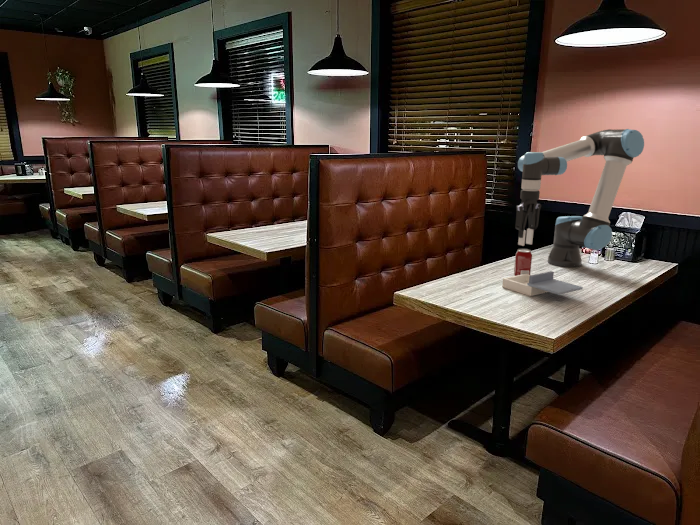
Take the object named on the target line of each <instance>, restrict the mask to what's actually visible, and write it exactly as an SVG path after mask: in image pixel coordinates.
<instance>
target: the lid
mask: <svg viewBox="0 0 700 525" xmlns="http://www.w3.org/2000/svg"><path fill="white" fill-rule="evenodd" d="M554 274H555V272H554V271H552V270H551V271H546V272H541V273H535V274H530V277H529V283H528V284H527V285H529V286H532V287H535V288H538V289H542V290H545V291H548V292H547V293H551V294H555V295H558V296H559V295H560V296H561V295H564V294H568V293H571V292H576V291H580V290H583V288H584V287H583V286H581V285H576V284H573V283H569V282H567V281H562V280H559V279H557V278H556V279H554Z"/></svg>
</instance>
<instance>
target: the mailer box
mask: <svg viewBox="0 0 700 525" xmlns="http://www.w3.org/2000/svg"><path fill="white" fill-rule="evenodd" d="M530 275H531V274H530ZM530 275H529V274H522V275H518V276H514V275H513V276H509V277H504V278H502V288H504V289H508V290H510V291H514V292H518V293H520V294H523V295H526V296H529V297H532V296H537V295H540V294H541V295H542V294H545V292H546V293H549V292H548V291H545V290H542V289H538V288H535V287H532V286H529V285H527V284H528V283H529V277H530Z"/></svg>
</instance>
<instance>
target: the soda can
mask: <svg viewBox="0 0 700 525" xmlns="http://www.w3.org/2000/svg"><path fill="white" fill-rule="evenodd" d="M514 257H515V258H514V268H513V276H518V275H522V274H529V275H531V268H532V260H533V254H532V250H531V249H528V248H518V249H517V251H516V253H515V256H514Z"/></svg>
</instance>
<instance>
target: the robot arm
mask: <svg viewBox="0 0 700 525" xmlns="http://www.w3.org/2000/svg"><path fill="white" fill-rule="evenodd" d="M644 147H645V139H644V136H643V134H642V132H640V131H639V130H637V129H629V128H626V129H623V128H622V129H617V128H616V129H612V128H611V129H610V128H609V129H604V130H599V131H597V132H593V133H590V134H588V135H584V136H582V137H581V138H580V139H579V140H576V141H573V142H569V143H567V144H563V145H560V146H557V147H554V148H551V149H550V148H549V149H548V150H544V151H542V152H541V151H538V152H537V151H536V152H535V151H528V152H526V153H524V155H522V156H521V157H519V159H518V161H517V168H518V170H519V171H520V172H522V177H521V185H520V186H521V187H520V188H521V190H520V196H519V197H520V199H521V201H520V202H521V203H520V204H519V205H516V206H515V209H516V210H515V212H516V214H515V215H516V216H515V226H514V227H515V229H516V230H518V240H517V241H518V242H517V245H518V246H522V247H524V246H525V244H526V245H533V238H534V232H535V230H537V228H538V226H539V222H540V221H539V220H540V212H541V208H542V204H541V203H538V200H539V199H540V193H541V192H540V189H541V185H542V182H541V181H542V176H559V175H560V176H561V175H563V174H564V173H565V172H566V171H567V169H568V162H570V161H573V160H576V159H579V158H582V157H585V158H589V157H592V156H603V159H604V161H605V163H604V166H603V168H602V172H601V175H600V178H599V180H598V183H597V185H596V190H595V192H594V195H593V197H592V200H591V203H590V206H589V208H588V212H587V213H586V214H584V215H583V216H580V215H571V216H570V215H567V216H566V215H565V216H558V217H557V218H556V220H555V224H554V225H555V226H554V236H553V246H552V247H551V251H550V253H549V255H548V256H547V263H548V264H550V265H554V266H558V267H566V268H576V267H577V268H578V267H581V266H582V255H581V252H580V247H583V248H586V249H589V250H597V251H598V250H602V249H603V248H605V247H607V245H609V243H610V242H611V241H612V240H611V239H612V237H613V230H612V228H611V227H610V225H611V221H610V220H609V217H610V214H611V210H612V208H613V205H614V202H615V200H616V197H617V195H618V194H617V193H618V191H619V188H620V186H621V183H622V180H623V177H624V174H625V171H626V169H627V166H629V165H630V164H632V162H633V160H634V158H637V157H639V156H640V155H642V153H643V151H644ZM527 221H528V228H526V226H527ZM525 228H526V230H525Z"/></svg>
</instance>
